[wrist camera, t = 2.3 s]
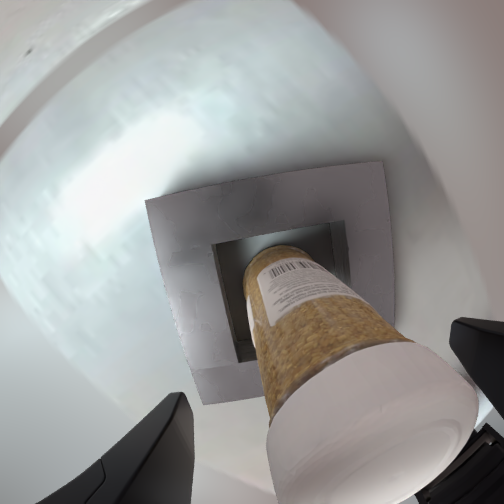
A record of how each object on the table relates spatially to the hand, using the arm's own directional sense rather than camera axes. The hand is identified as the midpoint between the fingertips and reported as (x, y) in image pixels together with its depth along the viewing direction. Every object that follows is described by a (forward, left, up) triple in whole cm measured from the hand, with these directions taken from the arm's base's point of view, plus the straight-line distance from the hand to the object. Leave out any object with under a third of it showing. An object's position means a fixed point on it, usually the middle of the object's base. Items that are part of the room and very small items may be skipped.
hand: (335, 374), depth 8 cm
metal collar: (0, 0, -9) cm, 9 cm away
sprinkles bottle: (0, 0, -9) cm, 9 cm away
